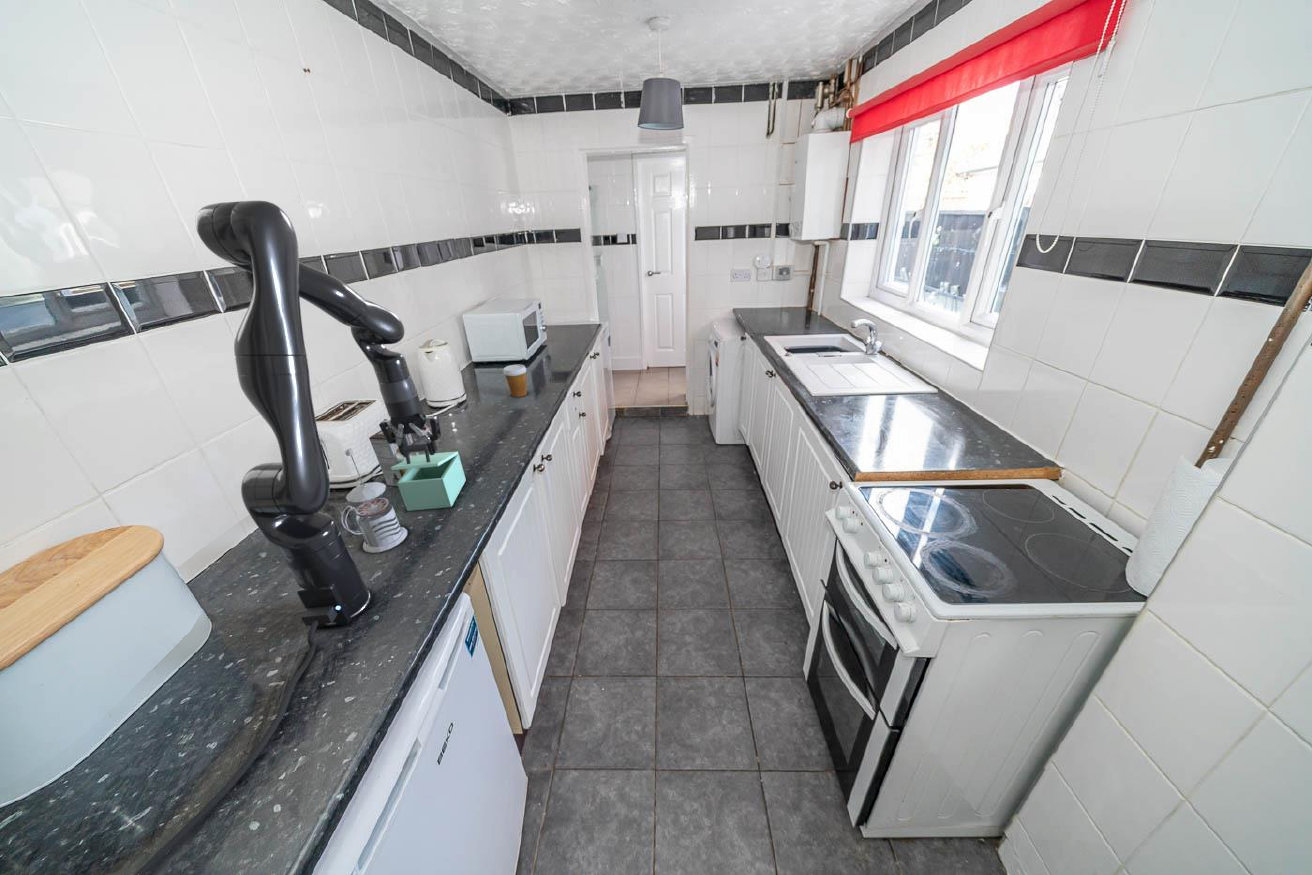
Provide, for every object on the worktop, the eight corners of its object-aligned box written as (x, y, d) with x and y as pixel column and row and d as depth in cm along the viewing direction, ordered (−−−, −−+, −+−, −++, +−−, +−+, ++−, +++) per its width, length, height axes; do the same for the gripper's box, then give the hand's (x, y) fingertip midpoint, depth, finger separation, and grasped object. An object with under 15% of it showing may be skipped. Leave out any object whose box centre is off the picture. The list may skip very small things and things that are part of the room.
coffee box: (407, 469, 141) (391, 423, 134) (425, 471, 140) (410, 424, 132) (386, 485, 133) (368, 437, 126) (405, 487, 132) (387, 438, 124)
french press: (416, 533, 112) (383, 444, 101) (369, 562, 103) (328, 468, 92) (392, 522, 117) (359, 435, 105) (346, 549, 108) (304, 458, 97)
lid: (438, 466, 115) (434, 444, 114) (391, 470, 115) (387, 448, 114) (458, 454, 130) (455, 434, 128) (417, 457, 129) (413, 438, 128)
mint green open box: (451, 506, 122) (442, 479, 118) (407, 510, 121) (397, 483, 117) (466, 480, 134) (458, 454, 130) (425, 483, 133) (417, 457, 129)
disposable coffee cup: (506, 393, 198) (501, 366, 192) (528, 388, 201) (523, 362, 196) (510, 400, 190) (504, 372, 184) (532, 395, 193) (527, 368, 188)
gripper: (362, 404, 107) (386, 464, 115) (424, 399, 108) (443, 459, 116) (377, 392, 114) (398, 450, 122) (435, 387, 114) (452, 445, 122)
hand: (420, 454), depth 119 cm, fingers closed on lid, 6 cm apart
